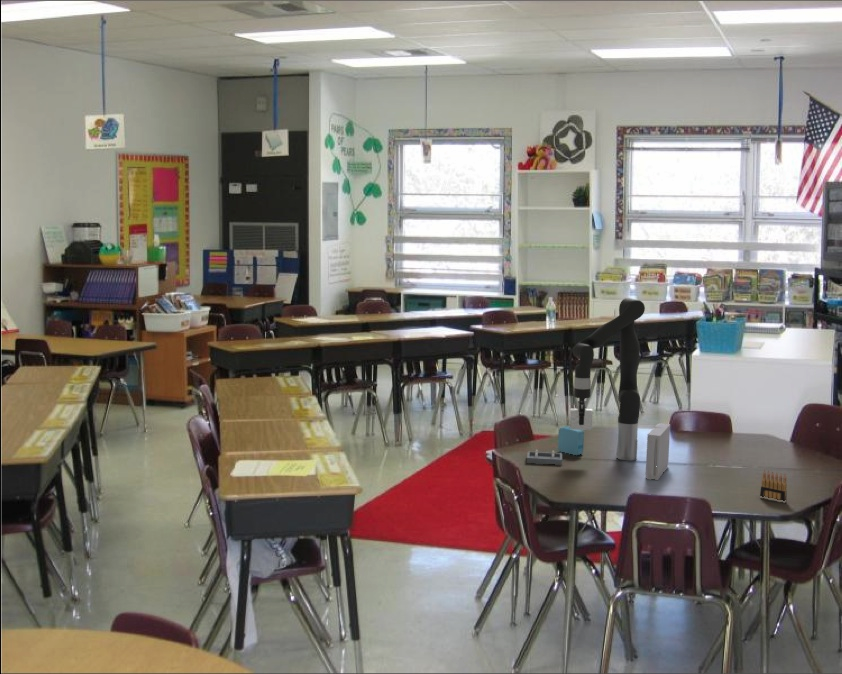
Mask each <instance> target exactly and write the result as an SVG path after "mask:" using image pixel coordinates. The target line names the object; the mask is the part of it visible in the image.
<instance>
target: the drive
mask: <svg viewBox="0 0 842 674" xmlns="http://www.w3.org/2000/svg"><path fill="white" fill-rule="evenodd" d="M569 411H570V413H569V415H570V416H569V417H570V419H569V420H570V421H569V427H570V429H575V430H583V431H592V430H593V417H594V416H593V414H594V411H593V408H586V411H585V414H584V415H585V416H584V425H579V412H578V407H576V408H575V407H573V408H572V407H570V410H569ZM580 414H583V412H580Z"/></svg>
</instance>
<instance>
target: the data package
mask: <svg viewBox="0 0 842 674" xmlns="http://www.w3.org/2000/svg"><path fill="white" fill-rule="evenodd" d="M584 437H585V432H584V430H575V429H570V426H561V427H559V429H558V443H557V450H558V452H559V451H561V452H560V453H562V452H565V453H564V454H566V453H569V454H568V455H570V454H573V455H572V456H574V455H576V456H580V454H581V455H583V454H584V442H585V441H584V440H585V438H584Z"/></svg>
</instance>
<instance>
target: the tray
mask: <svg viewBox="0 0 842 674" xmlns="http://www.w3.org/2000/svg"><path fill="white" fill-rule="evenodd" d="M527 463H536V464H535V465H543V464H555V465H554V466H563V453H562V452H555V450H551V452H546V451H545V452H543V451H539V450H538V449H535V451H527V455H526V464H527Z"/></svg>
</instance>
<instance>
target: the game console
mask: <svg viewBox="0 0 842 674" xmlns="http://www.w3.org/2000/svg"><path fill="white" fill-rule="evenodd" d="M670 437H671V423H661V422H660V423H659V422H658V423H657V424H656V425H655V426H654V427H653V429H651V430H650V431H649V432H648V433H647V437H646V438H647V439H646V440H647V441H646V459H645V460H646V461H645V478H644V479H646V478H647V479H646V480H651V479H655V480H654V481H658V480H659V479H660V478H661V477H662V475H664V473H665V471H666V470H667V469H668V465H669V456H670V455H669V454H670ZM656 466H657V467H656ZM663 472H664V473H663ZM660 476H661V477H660Z"/></svg>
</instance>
